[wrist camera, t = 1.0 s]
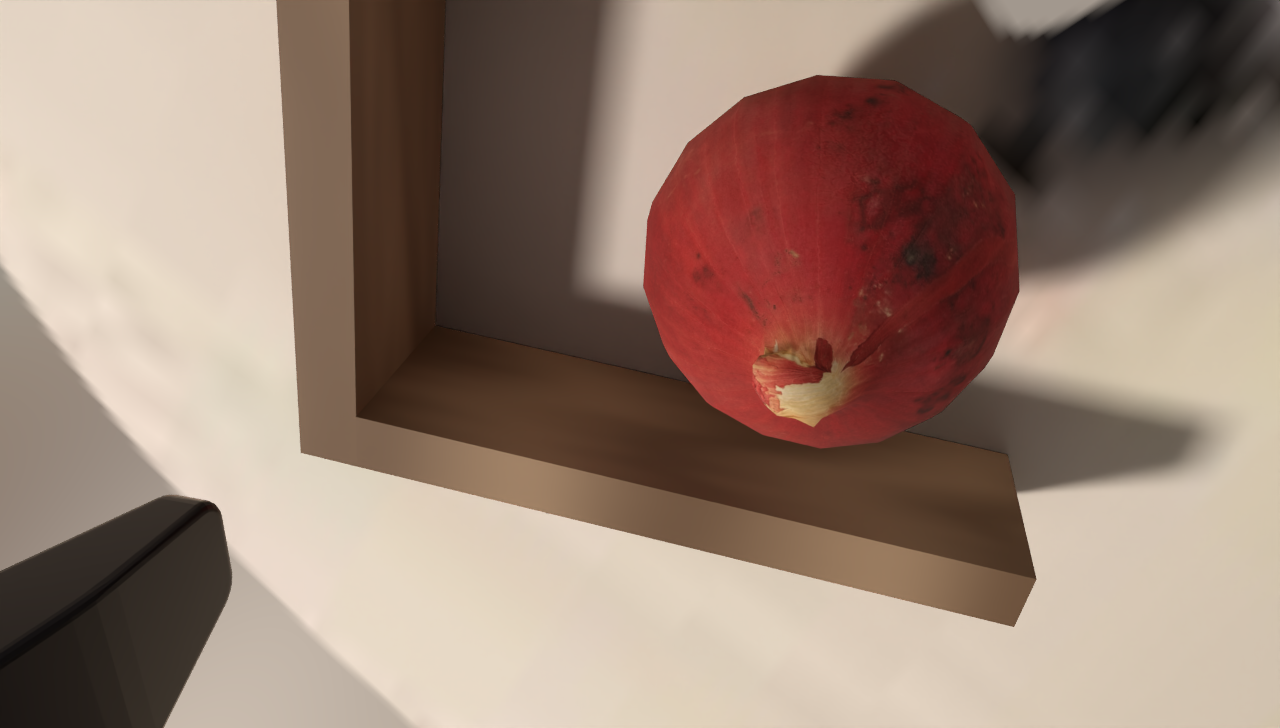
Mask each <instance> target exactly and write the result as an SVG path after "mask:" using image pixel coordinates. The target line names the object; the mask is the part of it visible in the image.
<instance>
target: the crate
mask: <svg viewBox="0 0 1280 728" xmlns="http://www.w3.org/2000/svg"><path fill="white" fill-rule="evenodd" d="M276 1H277V19H278V38H279V56H280V75H281V93H282V112H283V130H284V149H285V167H286V186H287V205H288V223H289V242H290V260H291V279H292V297H293V316H294V334H295V353H296V371H297V390H298V408H299V427H300V445H301V453H304V454H308V455H313V456H317V457H321V458H325V459H329V460H333V461H337V462H341V463H345V464H349V465H353V466H358V467H362V468H366V469H370V470H374V471H378V472H382V473H386V474H390V475H394V476H399V477H403V478H407V479H411V480H415V481H419V482H423V483H427V484H431V485H435V486H439V487H444V488H448V489H452V490H456V491H460V492H464V493H468V494H472V495H476V496H480V497H484V498H489V499H493V500H497V501H501V502H505V503H509V504H513V505H517V506H521V507H525V508H529V509H534V510H538V511H542V512H546V513H550V514H554V515H558V516H562V517H566V518H570V519H575V520H579V521H583V522H587V523H591V524H595V525H599V526H603V527H607V528H611V529H615V530H620V531H624V532H628V533H632V534H636V535H640V536H644V537H648V538H652V539H656V540H660V541H665V542H669V543H673V544H677V545H681V546H685V547H689V548H693V549H697V550H701V551H705V552H710V553H714V554H718V555H722V556H726V557H730V558H734V559H738V560H742V561H746V562H751V563H755V564H759V565H763V566H767V567H771V568H775V569H779V570H783V571H787V572H791V573H796V574H800V575H804V576H808V577H812V578H816V579H820V580H824V581H828V582H832V583H836V584H841V585H845V586H849V587H853V588H857V589H861V590H865V591H869V592H873V593H877V594H881V595H886V596H890V597H894V598H898V599H902V600H906V601H910V602H914V603H918V604H922V605H927V606H931V607H935V608H939V609H943V610H947V611H951V612H955V613H959V614H963V615H967V616H972V617H976V618H980V619H984V620H988V621H992V622H996V623H1000V624H1004V625H1008V626H1012V627H1014V626H1015V624H1016V622H1017V619H1018V617H1019V615H1020V613H1021V611H1022V609H1023V607H1024V605H1025V602H1026V600H1027V598H1028V596H1029V594H1030V592H1031V590H1032V588H1033V585H1034V583H1035V581H1036V575H1035V571H1034V567H1033V562H1032V558H1031V554H1030V549H1029V545H1028V541H1027V536H1026V532H1025V528H1024V523H1023V519H1022V515H1021V510H1020V506H1019V502H1018V497H1017V493H1016V489H1015V484H1014V480H1013V476H1012V472H1011V467H1010V463H1009V459H1008V455H1007V454H1002V453H998V452H993V451H989V450H985V449H980V448H976V447H971V446H967V445H962V444H958V443H954V442H949V441H945V440H940V439H936V438H931V437H927V436H923V435H918V434H914V433H909V432H905V431H902V432H900V433H898V434H896V435H894V436H892V437H890V438H888V439H885V440H883V441H881V442H878V443H868V444H859V445H850V446H840V447H831V448H821V449H820V448H816V447H812V446H808V445H803V444H799V443H795V442H791V441H786V440H782V439H778V438H774V437H769V436H765V435H762V434H760V433H758V432H757V431H755V430H753V429H751V428H750V427H748V426H746V425H744V424H742V423H741V422H739V421H737V420H735V419H734V418H732V417H730V416H728V415H727V414H725V413H723V412H721V411H719V410H718V409H716V408H714V407H713V406H711V405H710V404H708V403H707V402H706V401H705V400H704V398H703V397H702V396H701V395H700V394H699V392H698V391H697V390H696V389H695V388H694V386H693V385H692V384H691V383H688V382H683V381H679V380H674V379H670V378H666V377H661V376H657V375H652V374H648V373H643V372H639V371H635V370H630V369H626V368H621V367H617V366H612V365H608V364H604V363H599V362H595V361H590V360H586V359H581V358H577V357H573V356H568V355H564V354H559V353H555V352H550V351H546V350H542V349H537V348H533V347H528V346H524V345H519V344H515V343H511V342H506V341H502V340H497V339H493V338H488V337H484V336H480V335H475V334H471V333H466V332H462V331H457V330H453V329H449V328H444V327H440V326H435V316H436V284H437V253H438V222H439V191H440V159H441V128H442V97H443V65H444V34H445V3H446V0H276Z"/></svg>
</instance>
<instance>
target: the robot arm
mask: <svg viewBox="0 0 1280 728" xmlns="http://www.w3.org/2000/svg"><path fill="white" fill-rule="evenodd" d="M231 585H232V569H231V564H230V558H229V553H228V547H227V542H226V536H225V531H224V525H223V520H222V515H221V512H220V510H219V509H218V507H217V506H216V505H215V504H214V503H211V502H210V501H206V500H201V499H196V498H190V497H185V496H179V495H165V496H162V497H160V498H157V499H154V500H152V501H150V502H148V503H146V504H144V505H142V506H140V507H137V508H135V509H133V510H131V511H129V512H126V513H125V514H122V515H120V516H118V517H116V518H114V519H111V520H109V521H107V522H105V523H103V524H101V525H98V526H97V527H94V528H92V529H90V530H88V531H86V532H83V533H81V534H79V535H77V536H75V537H73V538H71V539H69V540H66V541H64V542H62V543H60V544H58V545H55V546H53V547H51V548H49V549H47V550H45V551H43V552H40V553H38V554H36V555H34V556H32V557H30V558H28V559H25V560H23V561H21V562H19V563H17V564H15V565H12V566H10V567H8V568H6V569H4V570H2V571H0V728H164V726H165V724H166V722H167V720H168V718H169V716H170V714H171V712H172V710H173V708H174V706H175V704H176V702H177V700H178V698H179V696H180V694H181V692H182V690H183V688H184V686H185V684H186V682H187V680H188V678H189V676H190V674H191V672H192V670H193V668H194V666H195V664H196V662H197V660H198V658H199V656H200V654H201V652H202V650H203V648H204V646H205V644H206V642H207V640H208V638H209V636H210V634H211V632H212V630H213V628H214V626H215V624H216V622H217V620H218V618H219V616H220V614H221V612H222V610H223V608H224V606H225V604H226V602H227V600H228V597H229V593H230V590H231Z"/></svg>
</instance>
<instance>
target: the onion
mask: <svg viewBox="0 0 1280 728" xmlns="http://www.w3.org/2000/svg"><path fill="white" fill-rule="evenodd" d="M643 287H644V290H645V293H646V296H647V299H648V302H649V304H650V307H651V310H652V313H653V316H654V319H655V322H656V325H657V328H658V330H659V333H660V336H661V339H662V342H663V345H664V347H665V349H666V351H667V353H668V355H669V357H670V358H671V359H672V361H673V362H674V363H675V364H676V366H677V367H678V368H679V369H680V370H681V372H682V373H683V374H684V375H685V377H686V378H687V379H688V380H689V381H690V383H691V384H692V385H693V386H694V388H695V389H696V390H697V391H698V392H699V394H700V395H701V396H702V397H703V398H704V400H705V401H706V402H707V403H708V404H710V405H711V406H713V407H714V408H716V409H718V410H719V411H721V412H723V413H725V414H727V415H728V416H730V417H732V418H734V419H735V420H737V421H739V422H741V423H742V424H744V425H746V426H748V427H750V428H751V429H753V430H755V431H757V432H758V433H760V434H762V435H765V436H769V437H774V438H778V439H782V440H786V441H791V442H795V443H799V444H803V445H808V446H812V447H816V448H820V449H821V448H831V447H840V446H850V445H859V444H868V443H878V442H881V441H883V440H885V439H888V438H890V437H892V436H894V435H896V434H898V433H900V432H902V431H904V430H907V429H909V428H911V427H913V426H915V425H917V424H919V423H921V422H923V421H926V420H928V419H930V418H932V417H934V416H935V415H937V414H939V413H940V412H942V411H943V410H944V409H945V408H946V407H947V406H948V405H949V404H950V403H951V402H952V401H953V400H954V399H955V398H956V397H957V396H958V395H959V394H960V393H961V392H962V391H963V389H964V388H965V387H966V386H967V385H968V384H969V383H970V382H971V381H972V380H973V379H974V378H975V377H976V376H977V375H978V374H979V373H980V372H981V371H982V370H983V369H984V368H985V366H986V365H987V363H988V362H989V360H990V359H991V357H992V356H993V354H994V352H995V349H996V347H997V345H998V342H999V340H1000V337H1001V335H1002V332H1003V330H1004V327H1005V325H1006V323H1007V320H1008V318H1009V315H1010V313H1011V310H1012V308H1013V305H1014V303H1015V301H1016V298H1017V296H1018V293H1019V270H1018V248H1017V227H1016V205H1015V194H1014V193H1013V191H1012V189H1011V188H1010V186H1009V185H1008V183H1007V181H1006V180H1005V178H1004V177H1003V175H1002V173H1001V172H1000V170H999V169H998V167H997V165H996V164H995V162H994V161H993V159H992V158H991V156H990V154H989V153H988V151H987V150H986V148H985V146H984V145H983V143H982V142H981V140H980V138H979V137H978V135H977V134H976V132H975V130H974V129H973V127H972V126H971V125H970V124H969V123H967V122H966V121H965V120H963V119H962V118H960V117H959V116H957V115H955V114H953V113H952V112H950V111H948V110H946V109H945V108H943V107H941V106H939V105H938V104H936V103H934V102H932V101H931V100H929V99H927V98H925V97H924V96H922V95H920V94H918V93H917V92H915V91H913V90H911V89H910V88H908V87H906V86H904V85H903V84H901V83H899V82H897V81H895V80H882V79H867V78H852V77H837V76H822V75H816V76H813V77H809V78H806V79H803V80H799V81H796V82H793V83H790V84H786V85H783V86H780V87H777V88H773V89H770V90H767V91H763V92H760V93H757V94H754V95H750V96H747V97H744V98H743V99H742V100H740V101H739V102H738V103H737V104H735V105H734V106H733V107H732V108H730V109H729V110H728V111H727V112H725V113H724V114H723V115H722V116H720V117H719V118H718V119H717V120H716V121H714V122H713V123H712V124H711V125H709V126H708V127H707V128H706V129H704V130H703V131H702V132H701V133H699V134H698V135H697V136H696V137H694V138H693V139H692V140H691V141H690V142H688V144H687V145H686V147H685V149H684V150H683V152H682V154H681V155H680V157H679V159H678V160H677V162H676V164H675V165H674V167H673V169H672V170H671V172H670V174H669V175H668V177H667V179H666V180H665V182H664V184H663V185H662V187H661V189H660V190H659V192H658V194H657V195H656V197H655V199H654V200H653V202H652V206H651V209H650V213H649V216H648V220H647V236H646V251H645V267H644V283H643Z"/></svg>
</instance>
